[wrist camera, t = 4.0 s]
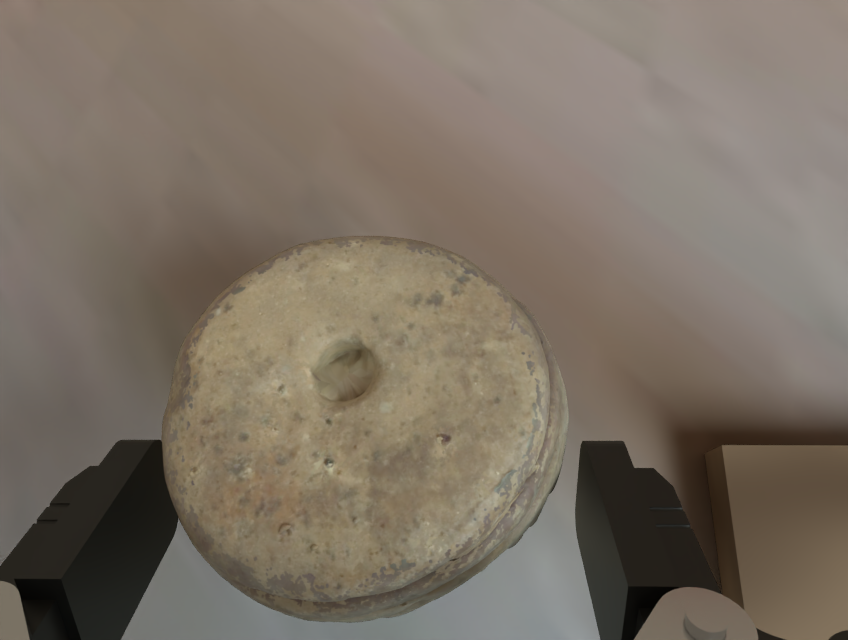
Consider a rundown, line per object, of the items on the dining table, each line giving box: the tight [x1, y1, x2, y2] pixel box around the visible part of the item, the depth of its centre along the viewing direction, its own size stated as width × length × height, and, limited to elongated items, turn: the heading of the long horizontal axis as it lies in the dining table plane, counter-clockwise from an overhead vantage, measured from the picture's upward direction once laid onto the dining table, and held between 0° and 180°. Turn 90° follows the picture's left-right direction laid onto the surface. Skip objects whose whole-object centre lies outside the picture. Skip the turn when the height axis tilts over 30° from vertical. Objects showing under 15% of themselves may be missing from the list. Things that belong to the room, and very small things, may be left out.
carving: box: [162, 236, 569, 623], centre depth 16 cm, size 6×8×12 cm
